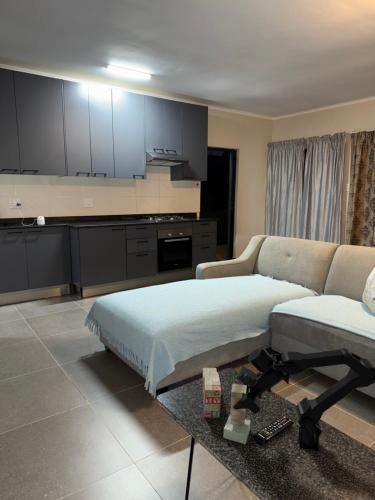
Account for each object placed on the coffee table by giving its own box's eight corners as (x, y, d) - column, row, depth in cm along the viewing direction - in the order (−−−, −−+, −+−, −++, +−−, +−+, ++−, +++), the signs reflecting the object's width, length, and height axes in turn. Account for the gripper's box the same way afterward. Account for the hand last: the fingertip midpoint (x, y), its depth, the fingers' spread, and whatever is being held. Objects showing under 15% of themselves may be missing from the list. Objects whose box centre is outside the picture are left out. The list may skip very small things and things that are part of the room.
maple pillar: (245, 417, 127) (246, 385, 124) (244, 426, 122) (245, 393, 120) (231, 415, 128) (232, 383, 125) (230, 424, 123) (231, 391, 121)
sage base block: (249, 430, 128) (250, 420, 128) (245, 444, 121) (246, 434, 120) (228, 424, 131) (229, 415, 130) (223, 438, 124) (223, 428, 123)
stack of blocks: (202, 386, 155) (202, 361, 153) (215, 386, 155) (216, 361, 153) (204, 417, 134) (204, 389, 132) (220, 418, 134) (221, 389, 132)
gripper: (252, 350, 129) (222, 373, 133) (251, 376, 111) (216, 402, 115) (273, 372, 129) (242, 394, 133) (274, 402, 111) (238, 427, 115)
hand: (234, 403), depth 124 cm, fingers closed on maple pillar, 5 cm apart
